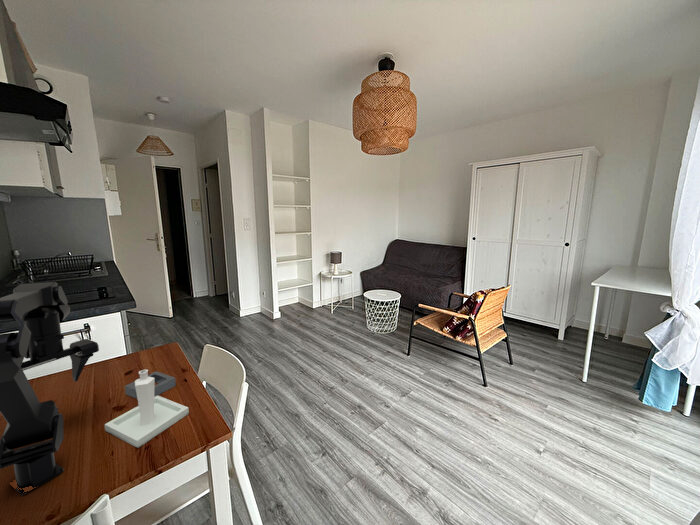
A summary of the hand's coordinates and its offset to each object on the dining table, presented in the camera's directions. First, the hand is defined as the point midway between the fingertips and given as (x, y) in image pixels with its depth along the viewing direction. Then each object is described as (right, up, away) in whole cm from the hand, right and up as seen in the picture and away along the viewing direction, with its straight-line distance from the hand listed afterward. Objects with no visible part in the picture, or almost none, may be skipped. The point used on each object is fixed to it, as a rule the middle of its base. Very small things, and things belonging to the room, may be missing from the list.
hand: (52, 390), depth 71 cm
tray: (+19, -13, +8) cm, 24 cm away
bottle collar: (+9, -10, +22) cm, 26 cm away
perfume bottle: (+19, -12, +8) cm, 24 cm away
